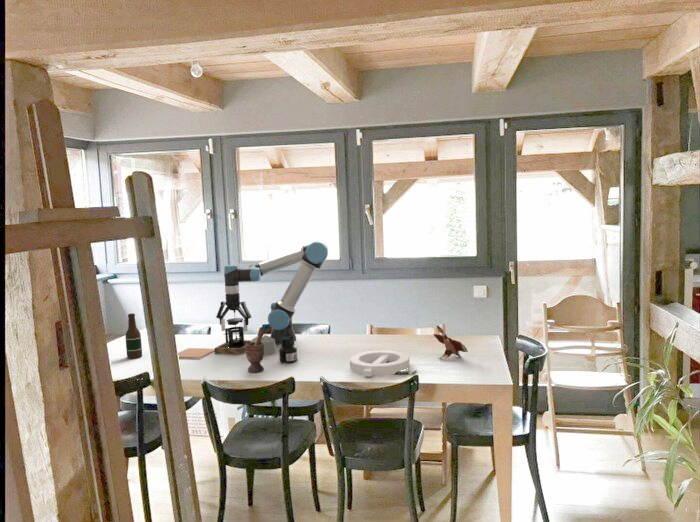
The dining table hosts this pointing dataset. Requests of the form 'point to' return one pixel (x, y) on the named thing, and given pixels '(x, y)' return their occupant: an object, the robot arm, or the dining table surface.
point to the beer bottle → (133, 339)
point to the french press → (231, 331)
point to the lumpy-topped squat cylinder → (267, 344)
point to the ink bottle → (288, 350)
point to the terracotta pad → (195, 353)
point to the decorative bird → (449, 344)
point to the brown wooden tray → (226, 350)
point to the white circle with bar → (378, 362)
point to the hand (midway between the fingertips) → (234, 330)
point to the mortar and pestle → (255, 353)
